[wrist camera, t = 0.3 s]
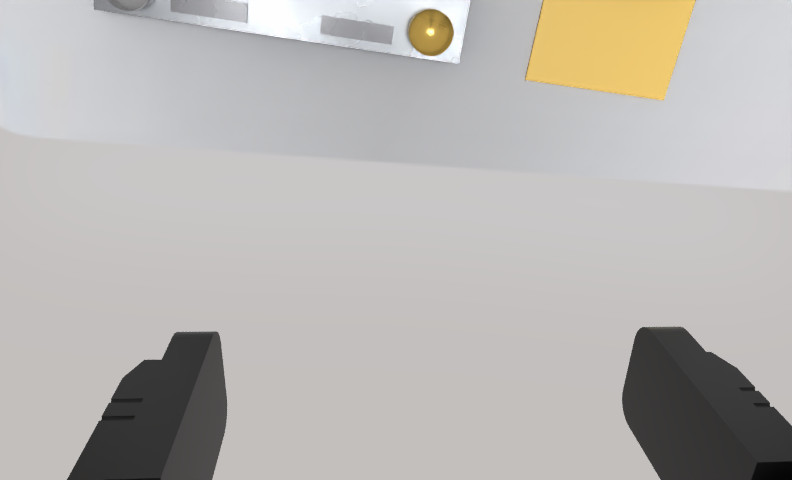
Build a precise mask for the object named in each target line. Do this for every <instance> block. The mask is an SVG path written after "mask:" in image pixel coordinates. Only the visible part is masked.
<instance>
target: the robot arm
mask: <svg viewBox="0 0 792 480" xmlns="http://www.w3.org/2000/svg"><path fill="white" fill-rule="evenodd" d="M622 404H623V411H624V415H625V419H626V421H627V423H628V425H629V427H630V429H631V430H632V432H633V434H634V436H635V437H636V439H637V441H638V442H639V444H640V446H641V447H642V449H643V451H644V452H645V454H646V456H647V457H648V459H649V461H650V462H651V464H652V466H653V467H654V469H655V471H656V472H657V474H658V476H659V477H660V479H661V480H792V426H791V425H790V424H789V423H788V422H787V421H786V420H785V418H784V417H783V416H782V415H781V414H780V413H779V412H778V411H777V410H776V409H775V408H774V407H770V403H769V401H768V400H766V398H765V397H764V396H763V395H762V394H761V393H760V392H759V391H755V387H754V386H753V385H752V384H751V382H750V381H749V380H748V379H747V378H746V377H745V376H744V375H743V374H742V373H741V372H740V371H739V370H738V369H737V368H736V367H734V366H733V365H731V364H729V363H728V362H726V361H725V360H723V359H721V358H720V357H718V356H717V355H715V354H713V353H711V352H706V351H705V350H704V349H703V348H702V347H701V346H700V345H699V344H698V342H697V341H696V340H695V339H694V338H693V337H692V336H691V335H690V334H689V332H688V331H687V330H686V329H684V328H682V327H642V328H640V329H639V330H638V332H637V334H636V336H635V340H634V344H633V349H632V353H631V357H630V362H629V367H628V371H627V375H626V380H625V384H624V389H623V396H622ZM226 419H227V396H226V388H225V378H224V368H223V359H222V350H221V341H220V336H219V334H218V332H176V333H175V334H174V336H173V337H172V339H171V341H170V343H169V346H168V348H167V350H166V352H165V354H164V356H163V358H162V360H144V361H143V362H141V363H140V364H139V365H138V366H137V367H135V368H134V369H133V370H132V371H131V372H129V373H128V374H127V375H126V376H125V377H124V378H123V379H122V380H121V382H120V384H119V386H118V388H117V389H116V391H115V393H114V395H113V397H112V399H111V403H109V404H108V406H107V408H106V409H105V411H104V413H103V415H102V420H101V421H99V422H98V424H97V426H96V428H95V430H94V432H93V433H92V435H91V437H90V439H89V441H88V442H87V444H86V446H85V448H84V450H83V452H82V453H81V455H80V457H79V459H78V461H77V463H76V465H75V466H74V468H73V470H72V472H71V473H70V475H69V477H68V479H67V480H212V478H213V474H214V470H215V466H216V463H217V459H218V455H219V452H220V448H221V444H222V440H223V437H224V433H225V427H226Z"/></svg>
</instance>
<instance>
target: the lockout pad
mask: <svg viewBox="0 0 792 480" xmlns="http://www.w3.org/2000/svg"><path fill="white" fill-rule="evenodd" d="M695 1H696V0H543V4H542V8H541V13H540V17H539V21H538V26H537V30H536V34H535V39H534V43H533V47H532V52H531V56H530V61H529V65H528V69H527V74H526V78H525V80H529V81H536V82H543V83H550V84H556V85H563V86H570V87H577V88H583V89H590V90H597V91H604V92H610V93H617V94H624V95H631V96H637V97H644V98H651V99H658V100H664V97H665V94H666V91H667V88H668V85H669V82H670V79H671V76H672V73H673V69H674V66H675V63H676V60H677V57H678V54H679V51H680V48H681V44H682V41H683V38H684V35H685V32H686V29H687V26H688V23H689V20H690V16H691V13H692V10H693V7H694V4H695Z"/></svg>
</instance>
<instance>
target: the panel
mask: <svg viewBox="0 0 792 480" xmlns="http://www.w3.org/2000/svg"><path fill="white" fill-rule="evenodd" d="M470 1H471V0H94V10H101V11H108V12H114V13H121V14H128V15H135V16H141V17H148V18H155V19H161V20H168V21H175V22H181V23H188V24H195V25H201V26H208V27H215V28H222V29H228V30H235V31H242V32H248V33H255V34H262V35H268V36H275V37H282V38H288V39H295V40H302V41H309V42H315V43H322V44H329V45H335V46H342V47H349V48H355V49H362V50H369V51H375V52H382V53H389V54H396V55H402V56H409V57H416V58H422V59H429V60H436V61H442V62H449V63H456V64H459V60H460V55H461V49H462V44H463V39H464V33H465V28H466V23H467V17H468V12H469V6H470Z"/></svg>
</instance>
